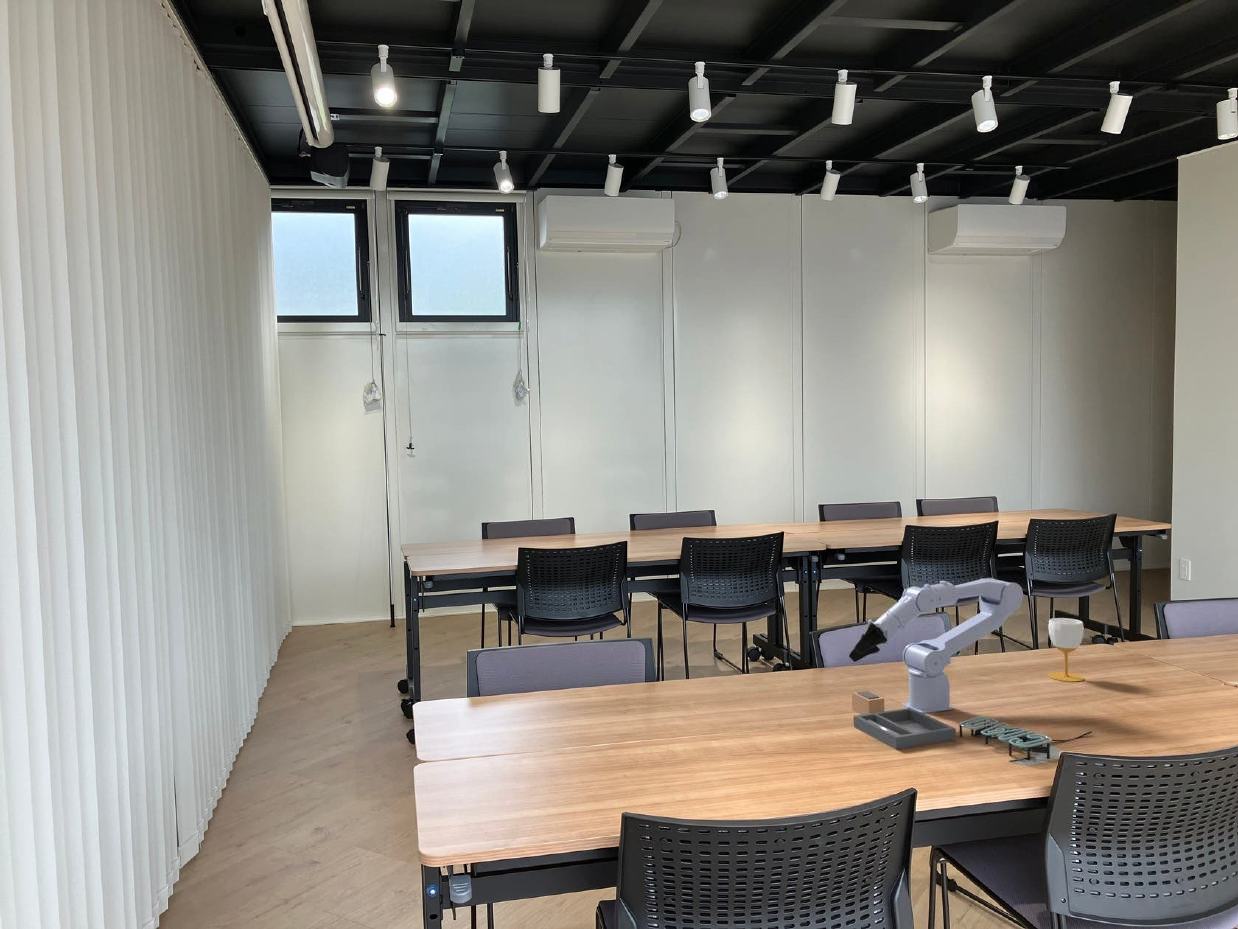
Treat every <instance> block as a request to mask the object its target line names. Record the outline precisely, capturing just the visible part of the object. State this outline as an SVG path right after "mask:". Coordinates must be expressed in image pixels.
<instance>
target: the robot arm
mask: <svg viewBox="0 0 1238 929" xmlns="http://www.w3.org/2000/svg"><path fill="white" fill-rule="evenodd" d="M1023 591H1024V590H1023V588H1022V586H1021V585H1020V584H1018V583H1017V582H1008V581H1004V580H999V579H995V578H992V577H987V578H980V579H977V580H973V581H968V582H964V583H960V584H957V585H954V584H953V583H951V582H949V581H947V580H946V581H945V580H940V581H939V583H936V584H927V583H926V584H923V586H922V587H918V586H910V587H906V588H905V589H904V590H903V592H902V595H901V598H900V599H899V600H898V601H897V602H896V603H895V604H893V605H892V606H891V607H890V608H888V610H886V611H885V612H884V613H883V614H882V615H881V616H879V618H878V619H876V620H875V621H873V620H872V619H871V618H870V619H869V620H867V621H866V623H867V625H868V627H867V629H866V631H865V632H864V633H862V635H861V637H860V639H859V641H858V642H857V643H856V644H855V646H854V647H853V649H852V650H851V652H850V653H849V655H848V657H849V658H850V659H851V660H852V661H853V663H856V662H858V661H861V660H862V659H863V658H865V657H867V656H870V655H874V654H878V653H879V652H880V651H881V649H880V648H879V647H878V646H879V645H884V644H887V645H888V644H889V643H890V642H891V640H892V639H893V638H895V637H896V636H897V635H898V634H899V633H900V632H901V631H903V630H904V629H905V628H907V626H909V624H911V623H912V622H913V621H914V620H915V619H917V618H918V617H919V616H920V615H922V613H928V614H929V613H932V612H933V611H934V610H935V609H936V608H937V609H938V608H941V607H947V606H953V605H955V604H956V603H957V602H958V599H959V600H960V599H966V598H973V597H979V598H978V599H979V603H978V604H979V611H980V612H979V613H978V614H976V615H974V616H972V617H970V618H968V619H967V620H965V621H964V622H961V623H960V624H959V625H957V626H955V627H953V628H951V629H950V630H948V631H946V632H945V633H943V634H941V635H940V636H937V637H936V638H934V639H926V640H925V639H923V640H921V641H919V642H917V643H915V642H913V643H912V642H911V643H909V644H908V645H906V646H905V647H904V649H903V651H902V661H903V663H904V664H905V666H907V671H908V701H906V702H902V703H901V705H902V706H904V707H905V708H912V709H914V710H916V711H918V712H920V713H923V714H926V713H927V714H928V713H937V712H943V711H944V712H945V711H950V710H952V709H953V707H952V706H950V704H951V703H950V699H951V697H950V695H951V694H950V691H951V689H950V682H949V678H948V677H947V675H946V674H945V673H944V672H943V671H944V670H945V668H947V666H948V665H950V664H951V663H952V662H951V659H952V658H951V657H952V656H953V655H954V654H956V653H958V652H960V651H962V650H963V649H965V648H967V647H969V646H970V645H972V644H974V643H976V642H978V641H979V640H980V639H982V638H984V637H986V636H988V634H990V633H993V632H994V631H995V630H997V629H999V628H1001V627H1002V626H1003V625H1004V623H1005V622H1006V621H1007V619H1009V617H1010V616H1011V614H1012V613H1013V612H1014V611H1016V610H1019V608H1022V602H1023V598H1024V593H1023Z"/></svg>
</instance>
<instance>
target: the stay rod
mask: <svg viewBox="0 0 1238 929" xmlns="http://www.w3.org/2000/svg"><path fill="white" fill-rule="evenodd" d="M867 721H869V722H871V723H873V724H875V725H877V726H879V727H881V728H883V729H885V730H887V731H889V732H891V733H893V734H895V735H896V736H899V735H900V734H898V733H896V732H894V731H892V730H890V729H888V728H886V727H884V726H882V725H880V724H878V723H876V722H874V721H872V720H870V719H869V720H867Z"/></svg>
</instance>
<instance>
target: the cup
mask: <svg viewBox="0 0 1238 929" xmlns="http://www.w3.org/2000/svg"><path fill="white" fill-rule="evenodd" d="M1047 627H1048V635H1049V638H1050V640H1051V643H1052V645H1053V646H1054V647H1055V648H1056V649H1057V650H1059V651H1060V652H1062V653H1063V654H1064V664H1063V665H1064V671H1062V672H1061V671H1056V672H1050V673H1048V677H1049V678H1050V679H1052V678H1053V679H1052V680H1056V681H1060V682H1065V681H1068V683H1078V682H1077V681H1080V682H1082V681H1084V680H1085V677H1084V676H1082V675H1079V674H1077V673H1073V672H1069V664H1068V663H1069V662H1068V659H1069V657H1068V656H1069V654H1070V653H1071V652H1074V651H1076V649H1078V648H1079V647H1080V646H1081V643H1082V642H1083V638H1084V630H1085V628H1084V622H1083V621H1081V620H1079V619H1075V618H1069V617H1068V618H1067V617H1057V618H1056V617H1053V618H1049V620H1048V626H1047ZM1072 681H1073V682H1072Z"/></svg>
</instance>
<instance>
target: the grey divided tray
mask: <svg viewBox="0 0 1238 929" xmlns="http://www.w3.org/2000/svg"><path fill="white" fill-rule="evenodd" d="M869 719H870V720H872V721H874V722H876V723H878V724H880V725H882V726H884V727H886V728H888V729H890V730H892V731H894V732H896V733H898V734H900V735H899V736H896V735H895V734H893V733H891V732H889V731H887V730H885V729H883V728H881V727H879V726H877V725H875V724H873V723H871V722H869V721H867V720H869ZM853 728H855V729H857V730H859V731H860V732H862V733H864V734H866V735H867V736H870V737H871V738H874V739H875V740H877V741H879V742H881V743H882V744H885V745H886V746H888V747H890V748H892V749H894V750H904V749H909V748H915V747H916V748H917V747H922V746H927V745H929V746H930V745H934V744H940V743H947V742H951V741H956V733H957V732H956V728H955V727H953V726H951V725H950V724H947V723H944V722H942V721H940V720H938V719H936V718H934V717H931V716H930V715H927V714H926V713H920V712H918V711H916V710H914V709H912V708H908V707H904V708H898V709H890V710H884V711H883V712H876V713H869V714H863V715H860V714H858V715H853Z"/></svg>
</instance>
